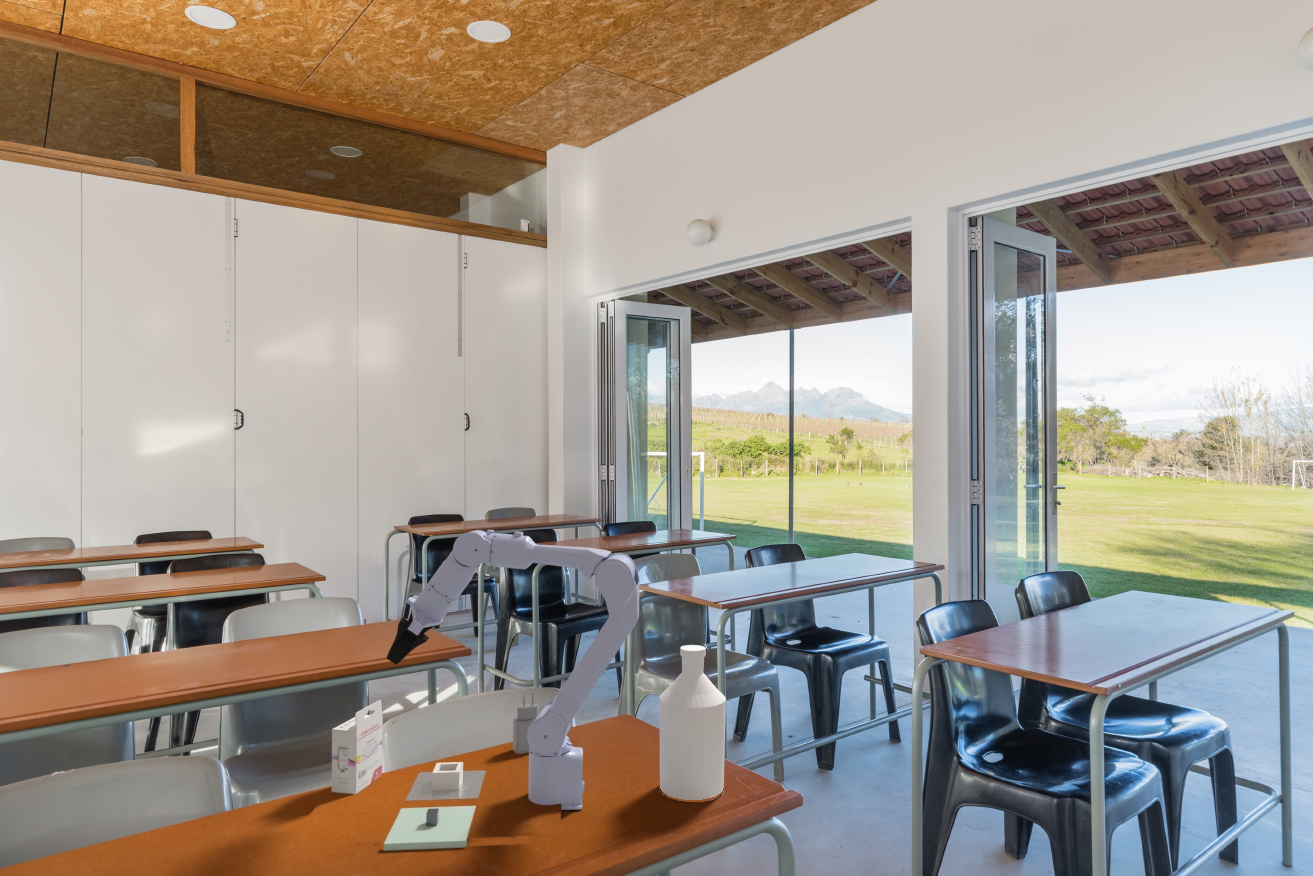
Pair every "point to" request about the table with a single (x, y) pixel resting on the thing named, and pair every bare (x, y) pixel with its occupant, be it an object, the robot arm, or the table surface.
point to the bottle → (692, 732)
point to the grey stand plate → (466, 791)
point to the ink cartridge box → (357, 751)
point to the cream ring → (447, 776)
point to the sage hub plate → (430, 828)
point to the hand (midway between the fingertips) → (397, 653)
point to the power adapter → (523, 725)
